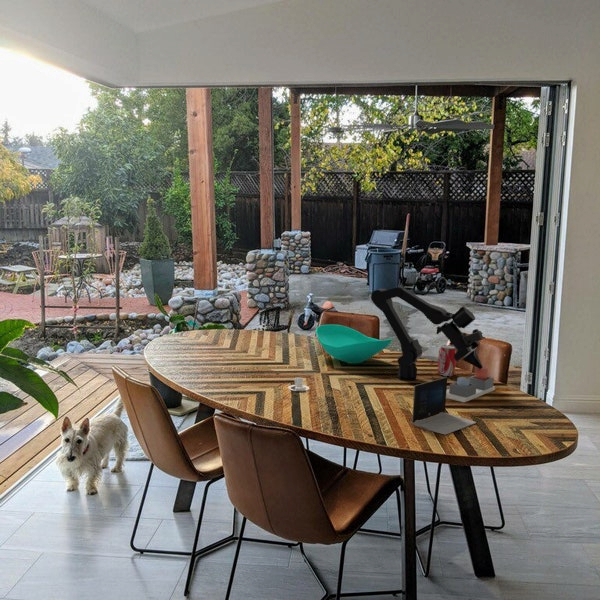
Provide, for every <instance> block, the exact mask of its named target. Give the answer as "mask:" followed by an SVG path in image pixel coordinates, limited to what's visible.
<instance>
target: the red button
mask: <svg viewBox="0 0 600 600" xmlns="http://www.w3.org/2000/svg"><path fill="white" fill-rule="evenodd" d="M488 371H489V370H488V368H487V367H482V368H481V369H480V368H478V367H475V374H474V375H475V378H476V379H481V380H486V379H487V377H488Z"/></svg>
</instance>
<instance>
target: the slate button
mask: <svg viewBox="0 0 600 600" xmlns="http://www.w3.org/2000/svg"><path fill="white" fill-rule="evenodd" d="M456 382H457V385H460V386H464V387H467V386H469V383H470V379H469V378H468V377H463V376H462V377H461V376H458V377H457V379H456Z"/></svg>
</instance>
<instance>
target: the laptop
mask: <svg viewBox="0 0 600 600" xmlns="http://www.w3.org/2000/svg"><path fill="white" fill-rule="evenodd" d="M447 386H448V377H447V376H444V377H442V378H441V377H440V378H437V379H434V380H431V381H427V382H422V383H420V384H416V385H414V387H413V401H412V403H413V404H412V417H411V423H412V424H411V426H415V427H418V428H421V429H424V430H426V431H430V432H431V431H432V432H433V433H438V434H441V435H443V436H445V435H449V434H450V433H454V432H456V431H458V430H462V429H464V428H467V427H470V426H472V425H474V424H477V422H476V421H473V420H472V419H468V418H465V417H461V416H458V415H454V414H451V413H448V412H446V403H447V398H446V390H447V389H448V388H447Z"/></svg>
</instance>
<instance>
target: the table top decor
mask: <svg viewBox="0 0 600 600" xmlns="http://www.w3.org/2000/svg"><path fill="white" fill-rule="evenodd" d="M315 334H316V338H317V341H318V343H319V344H320V345H321V347H322V348H323V350H324V351H325V352H326V353H327V354H329V356H331V357H332V358H334V359H336V360H339V361H341V362H343V363H347V364H361V363H364V362H365V361H367V360H369V359H370V358H372V357H373V356H375V355H377V354H379V353H380V352H381V351H383V350H385V349H386V348H387V347H389V346H390V345H391V344H392V342H393V338H388V339H384V340H381V339H377V338H373V337H369V336H367V335H365V334H364V333H362V332H360V331H358V330H356V329H354V328H351V327H349V326H345V325H342V324H333V323H332V324H330V323H329V324H322V325H321V324H320V325H318V326H317V327H316V329H315Z"/></svg>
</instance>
